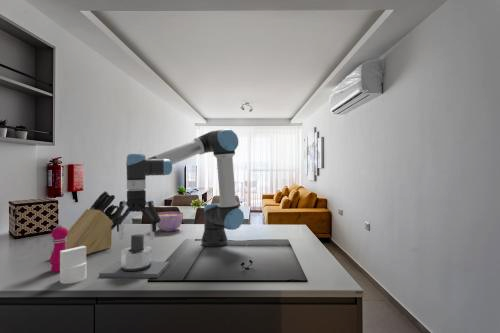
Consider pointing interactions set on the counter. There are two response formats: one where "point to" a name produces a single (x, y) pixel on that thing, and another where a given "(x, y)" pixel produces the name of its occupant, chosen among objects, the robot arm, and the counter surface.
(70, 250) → the cylinder with rectangular tab
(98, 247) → the knife block
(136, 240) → the dark grey tall cylinder
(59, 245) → the pepper mill
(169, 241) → the counter surface
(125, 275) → the grey rectangular board
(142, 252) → the light gray faceted ring
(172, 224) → the bowl of food
